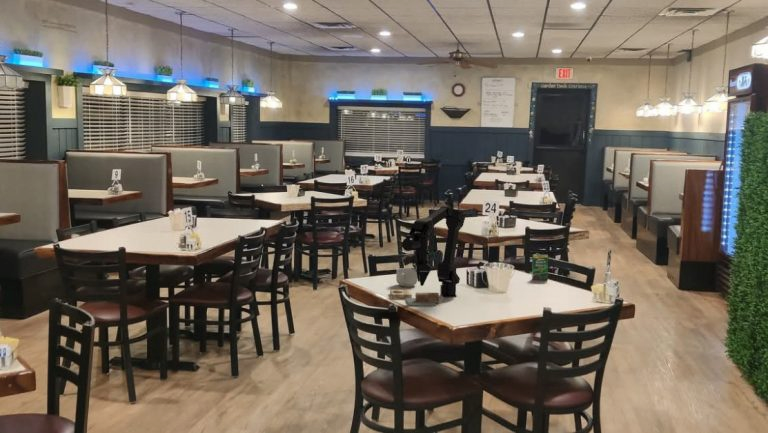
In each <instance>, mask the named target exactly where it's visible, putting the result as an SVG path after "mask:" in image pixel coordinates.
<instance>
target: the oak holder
mask: <svg viewBox="0 0 768 433" xmlns="http://www.w3.org/2000/svg"><path fill="white" fill-rule="evenodd" d="M389 294H390V298H391V300H392V299H393V300H396V299H397V300H406V298H413V295H412V292H411V290H410V289H390V290H389Z"/></svg>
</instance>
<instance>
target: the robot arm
mask: <svg viewBox="0 0 768 433" xmlns="http://www.w3.org/2000/svg"><path fill="white" fill-rule="evenodd" d="M444 219H445V225H446V227H447V234H446V240H445V241H446V242H445V248H444V253H443V259H442V261H441V262H440V263H438V264H437V269H436V274H437V275H436V276H437V279H438V282H439V283H441V284H440V290H439V295H441V296H442V298H443V297H444V298H445V297H447V298H449V297H451V298H455V297H457V294H456V293H457V285H458V284H460V280H461V278H460V277H459V275H458V273H457V266H456V264H455V258H456V252H457V244H458V239H459V238H458V237H459V232H460V230H462V228H463V227H464V223H465V220H466V215H465V214H464V212H463V211H459V210H457V209H455V208H453V207H451V206H448V205H441V206H440V207H439V209H437V210H435V211H434V212H432V213H431V214H429V215H428V216H426V217H422V218H418V219H416V220H414V222H413V224H412V226H411V228H410V230H409V233H408V234H406V235H405V238H404V239H403V240H402V243H401V245H402V246H401V247H402V249H403V250H404V251H406V252H410V251H413V253H410V254H408V255H405V256H402V257H401V260H402V263H403V265H404V266H405V267H406V266H408V265H410V264H411V266H412V267H413V268H414V270H416V273H417V278H418V279H417V283H420V284H419V285H420V286H421V287H422V286H424V285H425V283H426V280H427V278H428V276H429V274H430V273H431V271H432V268H431V265H430V264H429V260H428V259H429V258H428V256H429V239H431V238H432V236H431V234H430V233H431V232H432V230H434V226H435V225H437V224H438V223H439V222H441V221H443V220H444Z"/></svg>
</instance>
